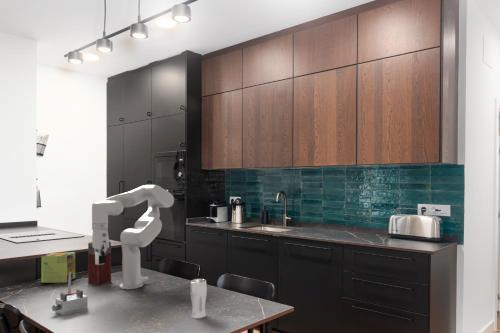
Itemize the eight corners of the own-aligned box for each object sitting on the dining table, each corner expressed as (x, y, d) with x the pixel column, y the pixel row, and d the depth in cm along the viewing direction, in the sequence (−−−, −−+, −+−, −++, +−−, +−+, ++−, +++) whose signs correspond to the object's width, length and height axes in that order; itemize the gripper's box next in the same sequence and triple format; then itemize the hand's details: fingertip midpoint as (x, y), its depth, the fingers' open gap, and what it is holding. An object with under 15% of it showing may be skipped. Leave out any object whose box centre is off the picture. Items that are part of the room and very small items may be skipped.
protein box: (67, 282, 223) (67, 255, 224) (40, 282, 224) (40, 255, 224) (75, 277, 234) (75, 252, 234) (50, 278, 234) (50, 252, 234)
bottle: (102, 262, 198) (102, 248, 198) (106, 263, 195) (106, 249, 195) (93, 263, 195) (93, 249, 195) (97, 265, 192) (97, 250, 192)
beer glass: (191, 313, 168) (190, 278, 168) (207, 313, 168) (206, 278, 169) (190, 319, 161) (189, 283, 161) (206, 318, 161) (206, 282, 162)
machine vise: (80, 305, 181) (80, 287, 181) (87, 309, 175) (87, 290, 175) (49, 313, 171) (49, 293, 172) (56, 317, 166) (56, 297, 166)
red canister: (98, 279, 229) (98, 232, 230) (111, 281, 223) (111, 233, 224) (85, 283, 221) (85, 234, 222) (98, 285, 215) (97, 235, 216)
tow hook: (71, 294, 201) (60, 299, 192) (72, 269, 202) (61, 272, 193) (86, 295, 200) (75, 299, 191) (87, 269, 201) (76, 273, 192)
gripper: (114, 227, 192) (114, 264, 191) (100, 224, 204) (100, 259, 203) (99, 228, 187) (99, 266, 186) (85, 225, 199) (85, 261, 198)
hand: (100, 262), depth 195 cm, fingers closed on bottle, 4 cm apart
